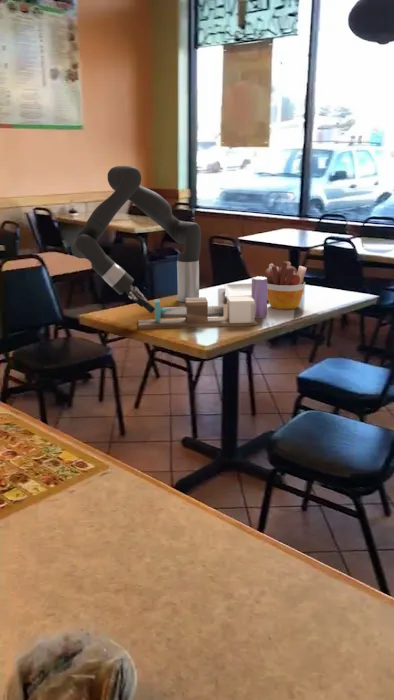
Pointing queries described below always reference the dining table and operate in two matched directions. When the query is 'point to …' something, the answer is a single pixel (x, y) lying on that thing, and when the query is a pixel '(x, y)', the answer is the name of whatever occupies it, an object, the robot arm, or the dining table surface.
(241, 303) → the socket
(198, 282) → the robot arm
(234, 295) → the square plate
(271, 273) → the bucket of meat
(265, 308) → the beverage can
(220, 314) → the slip tube
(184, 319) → the rail board
